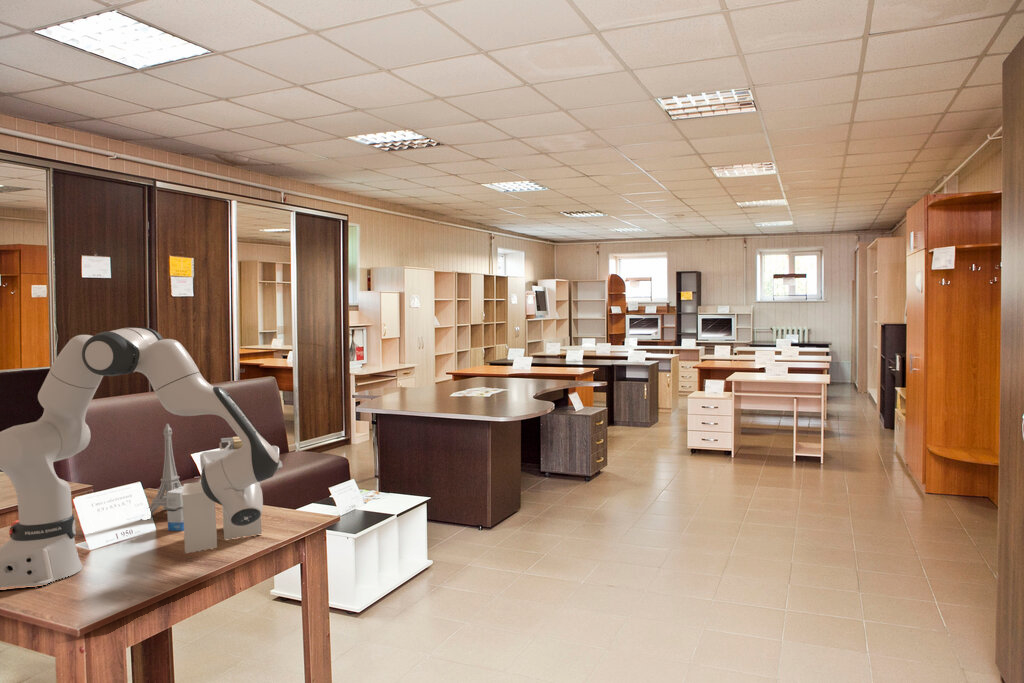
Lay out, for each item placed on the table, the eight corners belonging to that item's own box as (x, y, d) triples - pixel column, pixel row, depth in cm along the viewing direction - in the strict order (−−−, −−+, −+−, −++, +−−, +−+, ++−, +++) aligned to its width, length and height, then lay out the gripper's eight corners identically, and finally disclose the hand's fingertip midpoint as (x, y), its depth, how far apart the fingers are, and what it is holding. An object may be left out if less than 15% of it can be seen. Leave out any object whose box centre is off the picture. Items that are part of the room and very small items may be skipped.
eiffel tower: (139, 520, 217) (134, 427, 216) (167, 508, 230) (163, 420, 229) (176, 521, 215) (171, 427, 213) (202, 509, 228) (198, 420, 227)
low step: (185, 553, 184) (182, 495, 184) (186, 538, 197) (183, 483, 197) (217, 548, 188) (214, 491, 187) (216, 534, 200) (213, 480, 200)
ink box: (181, 531, 204) (179, 492, 203) (167, 530, 205) (165, 492, 204) (200, 522, 212) (198, 485, 212) (186, 522, 213) (184, 485, 213)
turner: (221, 442, 206) (220, 433, 206) (252, 439, 210) (252, 431, 210) (222, 452, 185) (222, 442, 185) (257, 449, 189) (257, 439, 189)
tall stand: (224, 540, 194) (220, 450, 193) (223, 527, 207) (219, 442, 206) (261, 535, 198) (257, 447, 197) (258, 522, 211) (254, 439, 210)
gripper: (283, 462, 183) (278, 430, 194) (200, 470, 175) (199, 436, 185) (283, 479, 186) (277, 447, 197) (201, 488, 178) (200, 454, 188)
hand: (239, 442), depth 191 cm, fingers closed on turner, 3 cm apart
